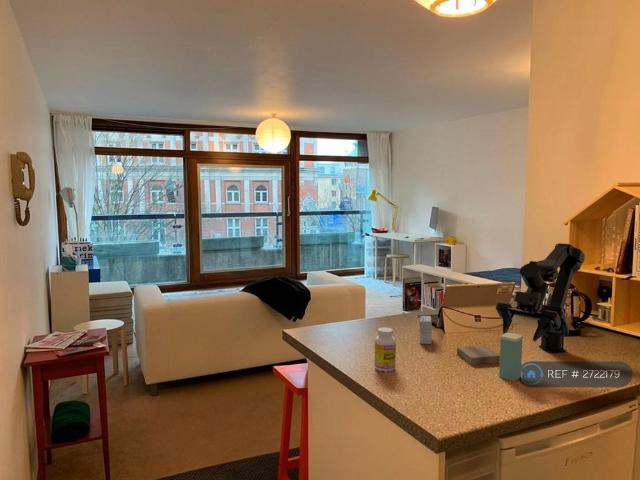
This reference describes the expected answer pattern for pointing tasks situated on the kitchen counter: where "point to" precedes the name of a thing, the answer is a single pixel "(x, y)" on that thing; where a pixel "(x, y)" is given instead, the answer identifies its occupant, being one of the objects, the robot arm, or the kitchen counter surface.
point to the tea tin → (510, 356)
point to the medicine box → (425, 330)
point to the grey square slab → (478, 355)
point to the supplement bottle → (385, 350)
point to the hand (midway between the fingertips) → (518, 337)
